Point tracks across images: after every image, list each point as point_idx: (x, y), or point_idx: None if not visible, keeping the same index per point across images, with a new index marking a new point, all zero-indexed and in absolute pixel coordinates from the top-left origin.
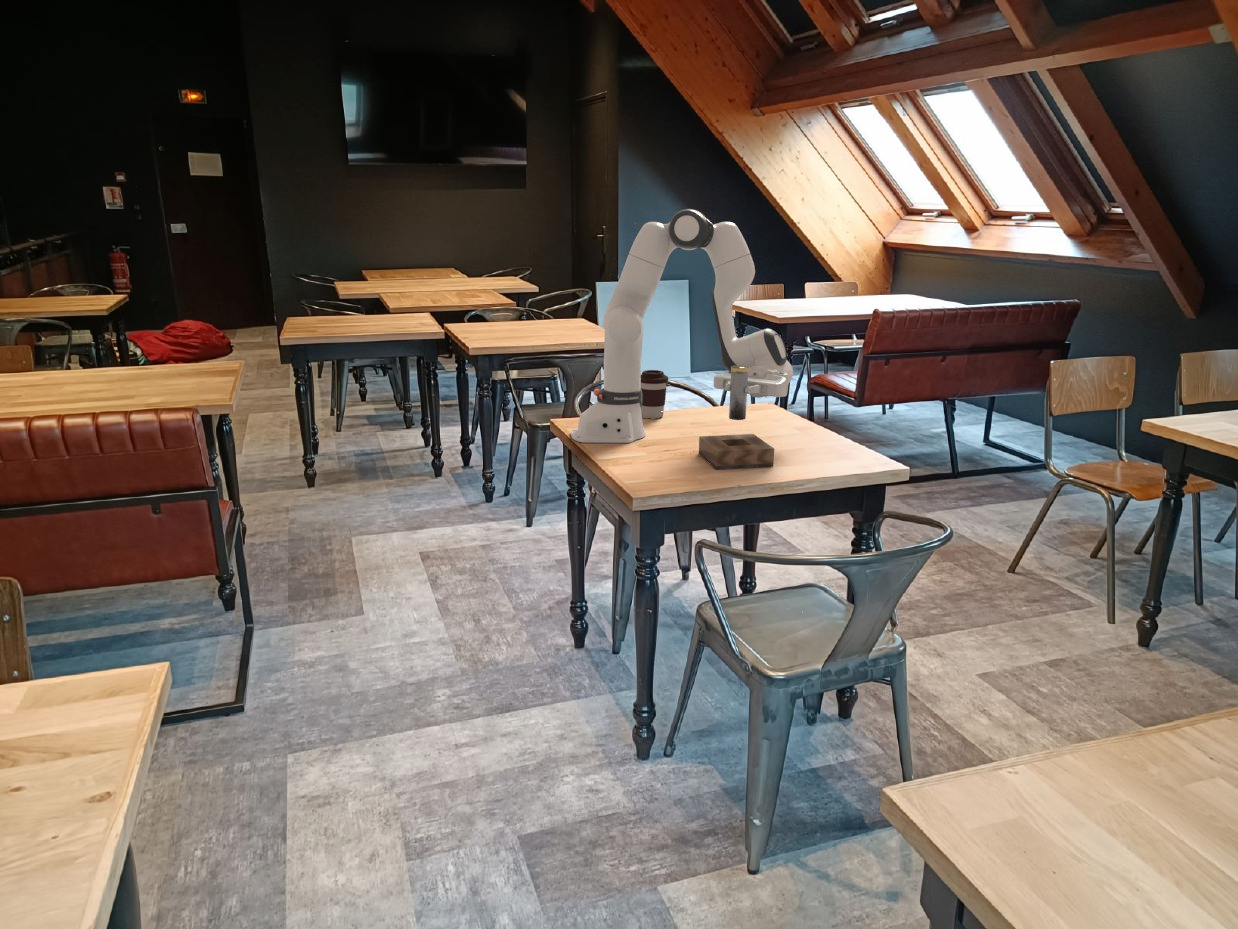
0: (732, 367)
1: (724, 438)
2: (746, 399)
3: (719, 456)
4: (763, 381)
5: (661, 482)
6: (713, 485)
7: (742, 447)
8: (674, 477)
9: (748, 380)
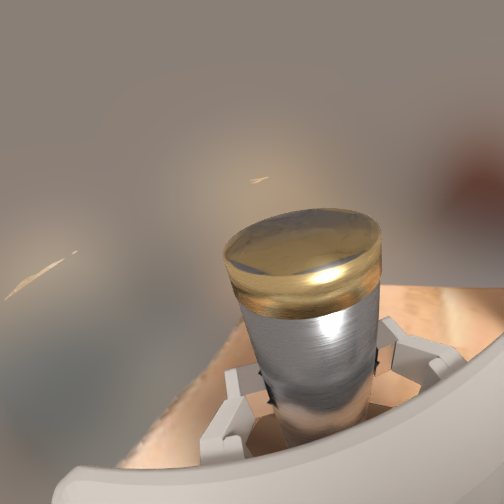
0: (320, 210)
1: None
2: (280, 426)
3: None
4: (187, 492)
5: None
6: (235, 351)
7: (269, 449)
8: None
9: (333, 438)
